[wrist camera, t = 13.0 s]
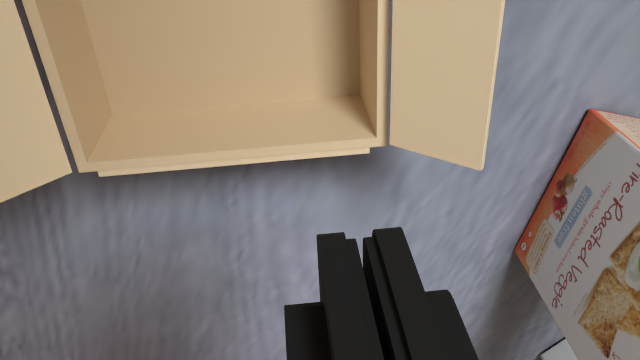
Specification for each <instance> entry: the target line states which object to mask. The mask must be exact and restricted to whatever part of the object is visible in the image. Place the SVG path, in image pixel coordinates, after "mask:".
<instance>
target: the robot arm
mask: <svg viewBox="0 0 640 360" xmlns="http://www.w3.org/2000/svg"><path fill="white" fill-rule="evenodd" d="M317 252H318V269H319V286H320V302H315V303H304V304H294V305H284V311H285V332H286V352H287V360H478V357H477V355H476V352H475V350H474V347H473V345H472V343H471V340H470V338H469V335H468V333H467V331H466V328H465V326H464V323H463V321H462V319H461V316H460V314H459V311H458V309H457V307H456V304H455V302H454V299H453V297H452V295H451V293H450V292H449V291H448V290H438V291H428V292H425V291H424V288H423V285H422V282H421V280H420V277H419V274H418V271H417V268H416V266H415V263H414V260H413V257H412V254H411V252H410V249H409V246H408V243H407V241H406V238H405V235H404V232H403V230H402V228H401V227H396V228H385V229H374V230H373V233H372V237H366V238H363V267H362V263H361V259H360V255H359V250H358V246H357V242H356V239H346V238H345V234H344V232H341V233H330V234H319V235H317Z"/></svg>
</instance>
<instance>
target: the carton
mask: <svg viewBox="0 0 640 360" xmlns="http://www.w3.org/2000/svg"><path fill="white" fill-rule="evenodd" d="M22 2H23V5H24V8H25V11H26V14H27V17H28V20H29V23H30V26H31V30H32V33H33V36H34V39H35V42H36V45H37V48H38V51H39V54H40V57H41V60H42V63H43V66H44V69H45V72H46V75H47V78H48V81H49V84H50V87H51V90H52V93H53V96H54V99H55V102H56V105H57V108H58V111H59V114H60V117H61V120H62V123H63V126H64V129H65V132H66V135H67V138H68V141H69V144H70V147H71V150H72V153H73V156H74V159H75V162H76V165H77V168H78V171H79V173H82V172H94V171H97V172H98V175H99V177H104V176H115V175H127V174H138V173H149V172H161V171H172V170H184V169H195V168H206V167H218V166H229V165H240V164H252V163H263V162H275V161H286V160H297V159H309V158H320V157H331V156H343V155H354V154H366V153H370V147H380V146H387V99H388V44H389V0H22Z"/></svg>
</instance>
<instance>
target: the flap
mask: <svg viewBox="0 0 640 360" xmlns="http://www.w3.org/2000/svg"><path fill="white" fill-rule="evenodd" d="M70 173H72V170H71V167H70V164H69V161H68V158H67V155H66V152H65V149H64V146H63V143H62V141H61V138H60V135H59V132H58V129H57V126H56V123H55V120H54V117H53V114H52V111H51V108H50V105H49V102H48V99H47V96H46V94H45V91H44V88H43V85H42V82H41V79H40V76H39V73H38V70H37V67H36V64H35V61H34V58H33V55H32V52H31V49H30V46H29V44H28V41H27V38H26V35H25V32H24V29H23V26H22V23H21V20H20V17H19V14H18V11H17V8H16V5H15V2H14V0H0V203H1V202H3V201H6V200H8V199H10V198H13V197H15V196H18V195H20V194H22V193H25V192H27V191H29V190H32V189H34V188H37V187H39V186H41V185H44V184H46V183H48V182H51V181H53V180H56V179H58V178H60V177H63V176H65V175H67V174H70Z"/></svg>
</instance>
